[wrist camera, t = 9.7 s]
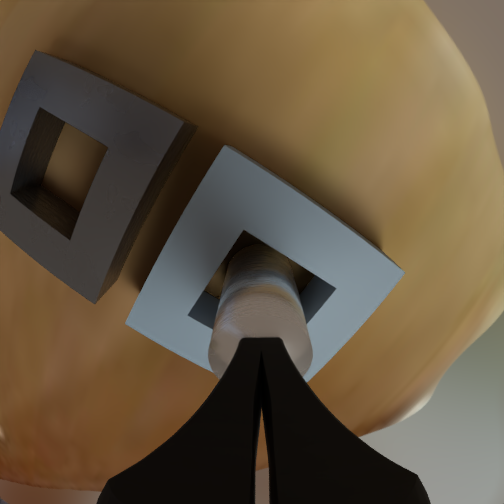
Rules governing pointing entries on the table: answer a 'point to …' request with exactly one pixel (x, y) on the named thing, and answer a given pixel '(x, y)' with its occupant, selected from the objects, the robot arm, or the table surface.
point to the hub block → (275, 235)
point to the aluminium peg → (259, 308)
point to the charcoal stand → (106, 179)
